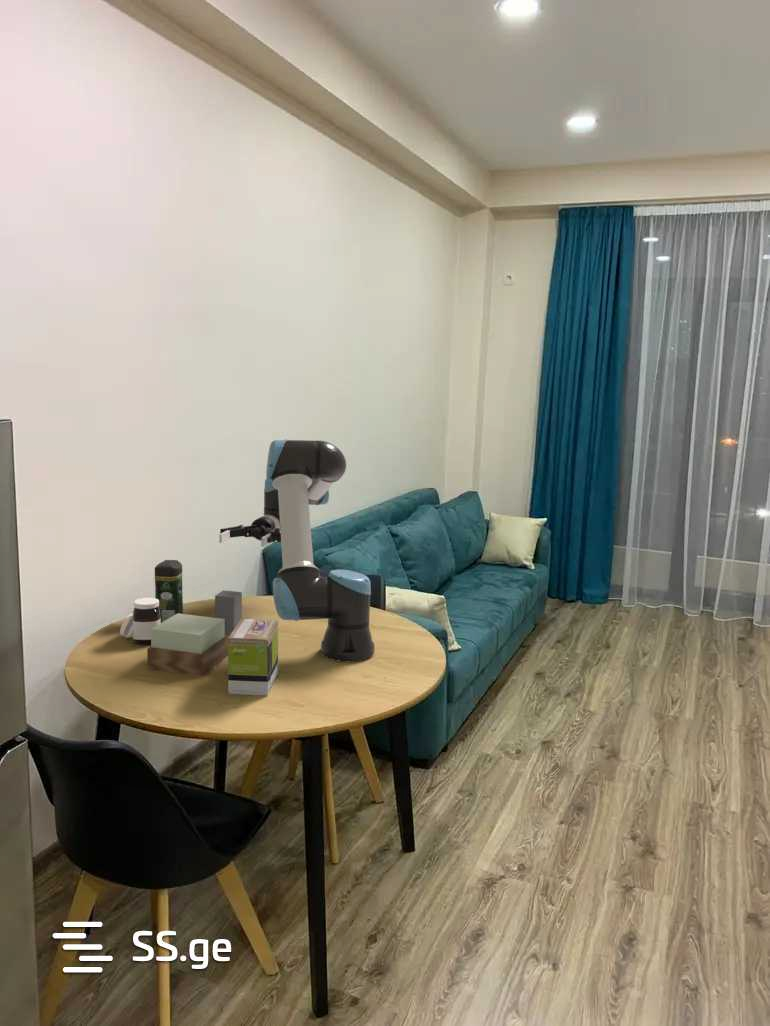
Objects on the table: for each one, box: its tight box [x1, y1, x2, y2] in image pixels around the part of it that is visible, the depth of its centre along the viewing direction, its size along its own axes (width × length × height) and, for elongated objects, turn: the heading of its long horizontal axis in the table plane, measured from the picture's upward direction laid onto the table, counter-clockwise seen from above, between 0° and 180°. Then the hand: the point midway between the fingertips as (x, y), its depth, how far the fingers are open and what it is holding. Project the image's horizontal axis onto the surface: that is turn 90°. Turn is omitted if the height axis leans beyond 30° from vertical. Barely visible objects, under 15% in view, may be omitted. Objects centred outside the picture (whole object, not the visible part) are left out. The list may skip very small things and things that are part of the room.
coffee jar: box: [154, 559, 184, 623], centre depth 235 cm, size 10×8×19 cm
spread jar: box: [119, 597, 161, 645], centre depth 217 cm, size 12×11×12 cm
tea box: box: [227, 618, 279, 696], centre depth 189 cm, size 15×10×15 cm
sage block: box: [150, 613, 225, 654], centre depth 201 cm, size 14×14×5 cm
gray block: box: [214, 589, 243, 635], centre depth 226 cm, size 6×6×12 cm
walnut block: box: [146, 635, 230, 676], centre depth 202 cm, size 16×16×6 cm
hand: (241, 540), depth 232 cm, fingers open, 13 cm apart
